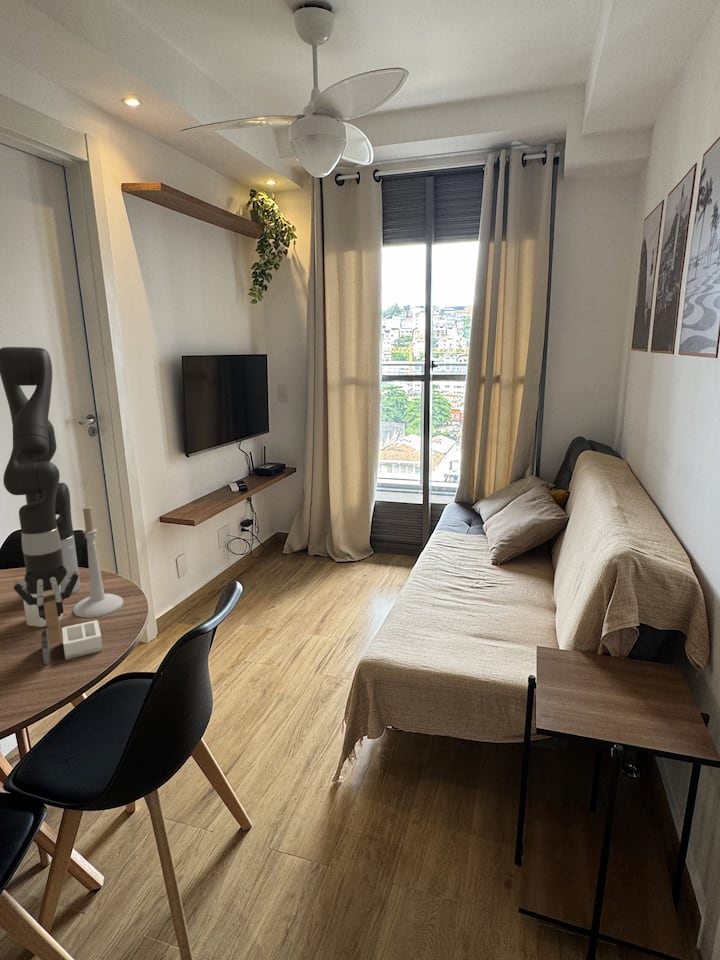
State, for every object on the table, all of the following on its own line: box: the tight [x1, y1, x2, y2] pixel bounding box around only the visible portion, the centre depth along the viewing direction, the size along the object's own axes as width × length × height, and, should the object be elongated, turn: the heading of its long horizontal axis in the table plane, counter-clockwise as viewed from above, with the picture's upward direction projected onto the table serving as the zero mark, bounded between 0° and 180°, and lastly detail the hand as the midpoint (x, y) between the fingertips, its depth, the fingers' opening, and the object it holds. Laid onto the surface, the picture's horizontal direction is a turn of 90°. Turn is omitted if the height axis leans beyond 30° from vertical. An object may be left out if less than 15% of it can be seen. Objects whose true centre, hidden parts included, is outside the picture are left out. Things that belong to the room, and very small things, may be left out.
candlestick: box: [72, 506, 124, 619], centre depth 147 cm, size 13×13×30 cm
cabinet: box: [40, 619, 104, 666], centre depth 129 cm, size 9×12×5 cm
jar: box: [22, 583, 64, 628], centre depth 142 cm, size 9×8×12 cm
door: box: [40, 590, 62, 645], centre depth 125 cm, size 8×3×10 cm, turn 31°
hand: (51, 616), depth 126 cm, fingers closed on door, 2 cm apart
